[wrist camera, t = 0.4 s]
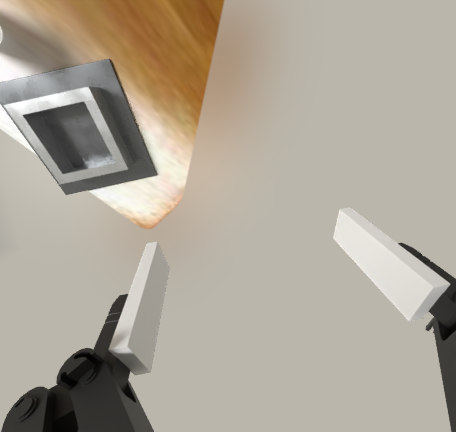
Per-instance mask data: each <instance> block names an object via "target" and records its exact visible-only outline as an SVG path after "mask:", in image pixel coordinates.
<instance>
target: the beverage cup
mask: <svg viewBox="0 0 456 432" xmlns="http://www.w3.org/2000/svg"><path fill="white" fill-rule="evenodd" d="M2 40H3V38H2V29H1V27H0V43H1V41H2Z"/></svg>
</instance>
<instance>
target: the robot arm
mask: <svg viewBox="0 0 456 432" xmlns="http://www.w3.org/2000/svg"><path fill="white" fill-rule="evenodd" d="M333 238H334V240H335V241H336V242H337V243H338V244H339V245H340V246H341V248H342V249H343V250H344V251H345V252H346V253H347V254H348V255H349V256H350V257H351V259H353V261H354V262H355V263H356V264H357V265H358V266H359V267H360V268H361V269H362V271H363V272H365V274H366V275H367V276H368V277H369V278H370V279H371V280H372V281H373V282H374V283H375V285H376V286H377V287H378V288H379V289H380V290H381V291H382V292H383V294H384V295H385V296H386V297H387V298H388V299H389V300H390V301H391V302H392V303H393V304H394V306H395V307H396V308H397V309H398V310H399V311H400V312H401V313H402V314H403V315H404V317H405V318H407V320H408V321H412V320H417V319H423V318H424V317H425V316H426V314H427V313H428V312H430V313H431V314H432V315H433V316H434V318H433V319H432V320H431V321H430V323H429V324H428V325H427V326H426V330H427V331H429V330H430V329H431V328H432V326H433V328H434V332H433V333H434V334H435V340H436V346H437V351H438V357H439V362H440V368H441V373H442V380H443V385H444V391H445V397H446V403H447V408H448V414H449V420H450V425H451V431H452V432H456V279H455V278H454V277H452V276H451V275H449V274H448V273H447V272H445V271H444V270H443V269H441V268H440V267H438V266H437V265H436V264H434V263H433V262H430V260H429V259H428V258H426V257H425V256H422V254H421V253H419V252H418V251H417V250H415V249H414V248H412V247H410V246H408V245H406V244H403V243H396V242H395V241H394V240H392V239H391V238H390V237H388V236H387V235H386V234H384V233H383V232H382V231H380V230H379V229H378V228H376V227H375V226H374V225H373V224H371V223H370V222H369V221H367V220H366V219H365V218H363V217H362V216H361V215H359V214H358V213H357V212H356V211H354V210H353V209H352V208H350V207H349V208H343V209H340V210H339V214H338V219H337V223H336V228H335V233H334V237H333ZM168 273H169V266H168V264H167V262H166V259H165V257H164V255H163V253H162V250H161V248H160V246H159V243H158V242H152V243H147V244H146V247H145V250H144V253H143V255H142V258H141V261H140V264H139V267H138V269H137V272H136V275H135V277H134V281H133V283H132V286H131V289H130V291H129V294H125V295H120V296H119V297H118V298H117V299H116V301H115V302H114V303H113V305H112V307H111V309H110V312H109V315H108V316H107V319H106V321H105V324H104V326H103V328H102V331H101V333H100V335H99V338H98V340H97V342H96V345H95V347H94V350H93V349H90V348H85V349H81V350H79V351H78V352H76V353H75V354H73V355H72V356H71V357H70V358H69V359H67V361H66V362H65V363H64V365H63V366H62V367H61V369H60V371H59V373H58V376H57V384H58V385H56V386H54V387H52V388H50V389H47V388H45V387H36V388H34V389H32V390H30V391H28V392H27V393H26V394H24V395H23V396H22V397H21V398H20V399H19V400H18V401H17V402H16V403H15V404H14V405H13V407H12V408H11V410H10V411H9V413H8V414H7V417H6V419H5V421H4V424H3V427H2V431H1V432H154V430H153V429H152V426H151V424H150V422H149V420H148V419H147V416H146V414H145V412H144V410H143V408H142V406H141V404H140V402H139V400H138V398H137V396H136V394H135V392H134V390H133V388H132V386H131V384H130V382H129V381H128V378H129V374H130V371H131V372H132V373H133V374H134V375H139V374H144V373H149V372H151V368H152V362H153V357H154V351H155V345H156V340H157V334H158V329H159V324H160V318H161V312H162V306H163V301H164V295H165V290H166V285H167V279H168Z"/></svg>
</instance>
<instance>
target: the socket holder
mask: <svg viewBox="0 0 456 432" xmlns="http://www.w3.org/2000/svg"><path fill="white" fill-rule="evenodd" d="M0 104H1V105H2V107H3V108H4V109H5V111H6V112H7V114H8V115H9V116H10V118H11V119H12V120H13V122H14V123H15V125H16V126H17V127H18V129H19V130H20V132H21V133H22V134H23V136H24V137H25V139H26V140H27V141H28V143H29V144H30V146H31V147H32V148H33V150H34V151H35V152H36V154H37V155H38V157H39V158H40V159H41V161H42V162H43V163H44V165H45V166H46V168H47V169H48V170H49V172H50V173H51V175H52V176H53V177H54V179H55V180H56V181H57V183H58V184H59V186H60V187H61V189H62V190H63V191H64V193H65V194H66V195H68V194H72V193H77V192H81V191H86V190H91V189H95V188H100V187H104V186H109V185H113V184H118V183H122V182H127V181H131V180H136V179H140V178H145V177H149V176H154V175H156V172H155V169H154V167H153V164H152V162H151V160H150V157H149V155H148V152H147V150H146V147H145V145H144V142H143V140H142V137H141V135H140V133H139V130H138V128H137V125H136V123H135V120H134V118H133V115H132V113H131V110H130V108H129V106H128V103H127V101H126V98H125V96H124V93H123V91H122V88H121V86H120V83H119V81H118V79H117V76H116V74H115V71H114V69H113V66H112V64H111V61H110V59H105V60H101V61H96V62H92V63H87V64H83V65H78V66H73V67H69V68H64V69H60V70H55V71H51V72H46V73H42V74H37V75H32V76H28V77H23V78H19V79H14V80H10V81H5V82H0Z"/></svg>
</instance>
